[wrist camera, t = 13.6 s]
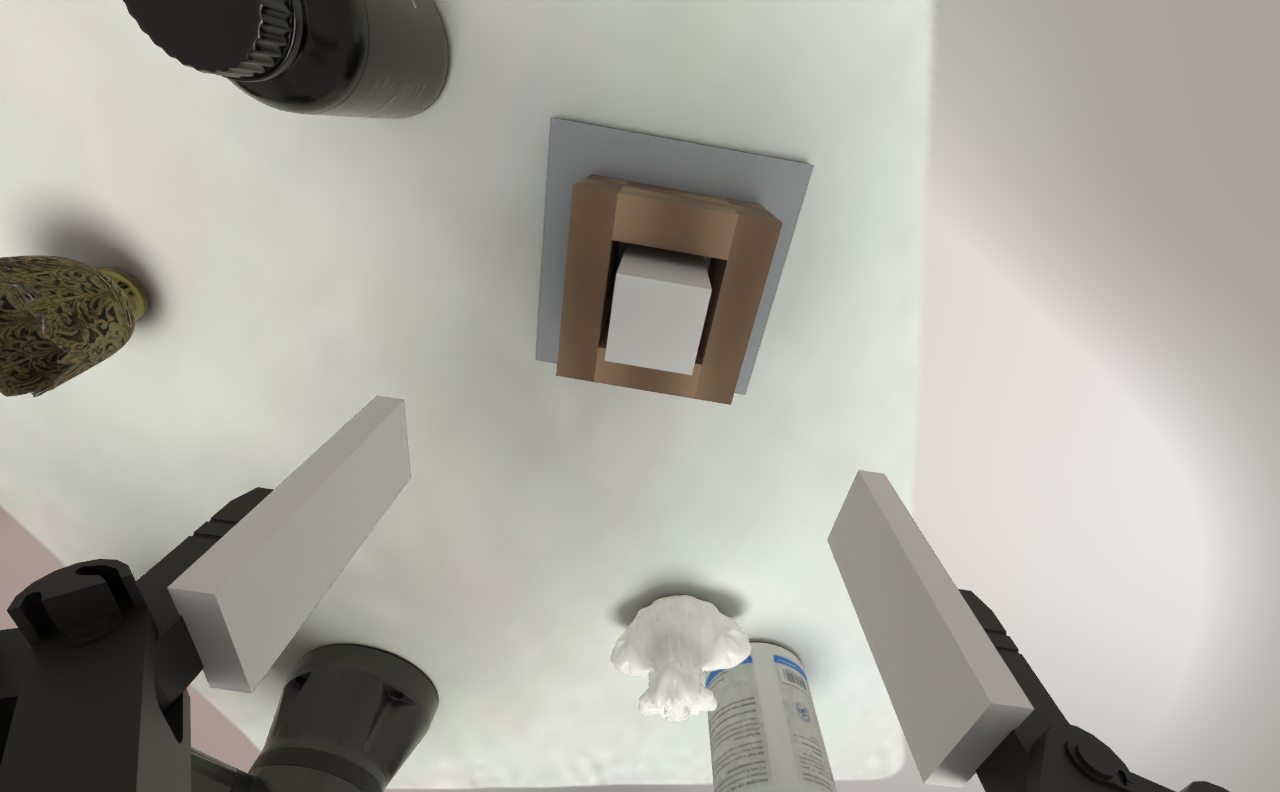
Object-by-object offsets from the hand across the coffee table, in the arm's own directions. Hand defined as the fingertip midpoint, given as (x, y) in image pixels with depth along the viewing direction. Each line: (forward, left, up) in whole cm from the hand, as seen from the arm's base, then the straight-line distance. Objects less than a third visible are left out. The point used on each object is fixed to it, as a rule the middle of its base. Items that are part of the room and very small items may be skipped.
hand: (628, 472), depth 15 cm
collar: (+1, +1, -18) cm, 18 cm away
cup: (-34, -6, -19) cm, 40 cm away
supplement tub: (+16, -36, -19) cm, 44 cm away
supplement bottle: (-16, +10, -19) cm, 27 cm away
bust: (+7, -29, -19) cm, 35 cm away
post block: (0, +1, -19) cm, 19 cm away
